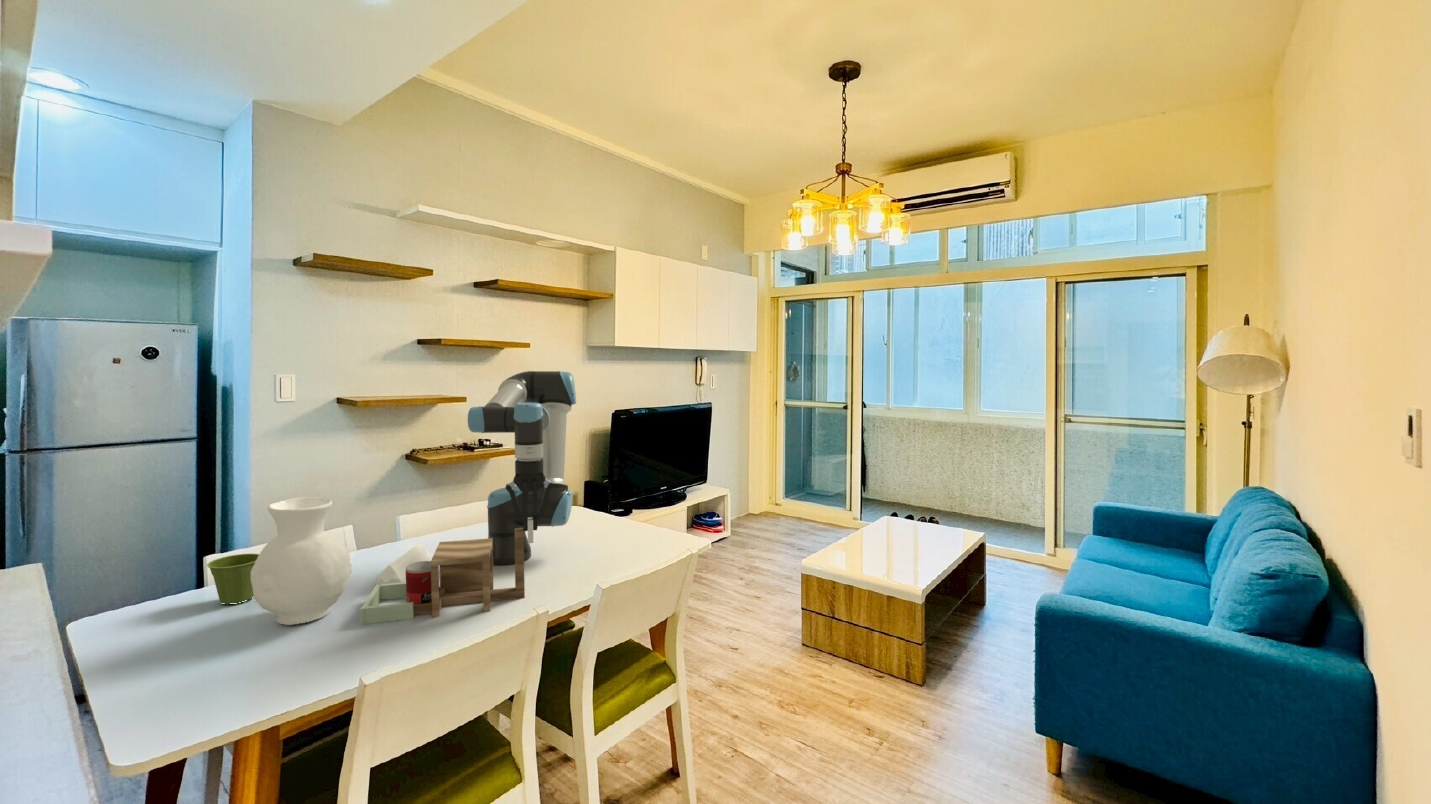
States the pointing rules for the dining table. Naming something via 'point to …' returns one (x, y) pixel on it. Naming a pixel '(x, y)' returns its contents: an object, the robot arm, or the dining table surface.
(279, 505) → the vase
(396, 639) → the dining table surface
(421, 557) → the white faceted bar
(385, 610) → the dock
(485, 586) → the stool
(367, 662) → the dining table surface
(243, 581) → the plant pot
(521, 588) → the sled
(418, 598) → the canned food
